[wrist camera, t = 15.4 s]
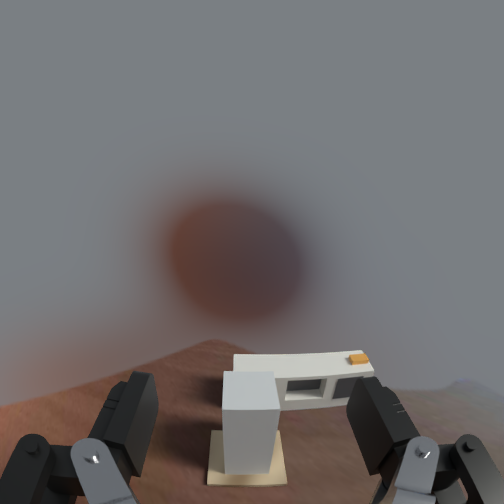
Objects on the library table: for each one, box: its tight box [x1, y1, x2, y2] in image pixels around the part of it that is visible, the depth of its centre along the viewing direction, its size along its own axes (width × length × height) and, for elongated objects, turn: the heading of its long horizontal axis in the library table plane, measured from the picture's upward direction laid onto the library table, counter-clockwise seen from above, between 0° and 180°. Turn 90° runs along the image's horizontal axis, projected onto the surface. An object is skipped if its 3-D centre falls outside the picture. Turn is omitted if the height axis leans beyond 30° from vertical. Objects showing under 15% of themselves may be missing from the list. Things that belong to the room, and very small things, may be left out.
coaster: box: [207, 430, 287, 487], centre depth 25 cm, size 8×8×1 cm
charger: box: [222, 371, 280, 475], centre depth 24 cm, size 4×7×11 cm, turn 3°
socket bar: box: [233, 350, 374, 411], centre depth 34 cm, size 18×5×7 cm, turn 92°
